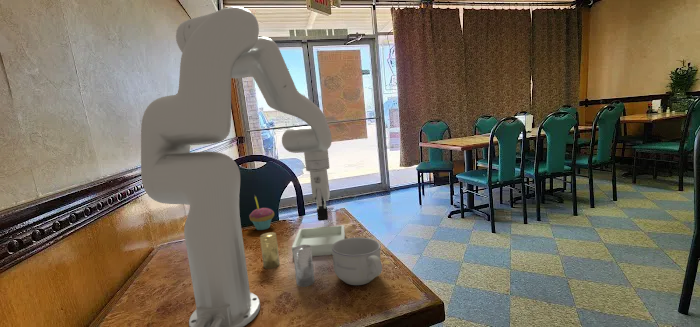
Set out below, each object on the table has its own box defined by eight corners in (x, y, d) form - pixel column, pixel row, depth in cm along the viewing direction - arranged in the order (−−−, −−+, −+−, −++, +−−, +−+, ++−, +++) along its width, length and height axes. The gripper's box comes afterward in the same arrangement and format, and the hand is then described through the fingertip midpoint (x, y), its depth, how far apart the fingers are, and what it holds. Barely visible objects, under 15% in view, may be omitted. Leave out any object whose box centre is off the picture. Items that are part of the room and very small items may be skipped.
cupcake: (245, 231, 105) (241, 198, 103) (259, 223, 113) (256, 191, 111) (267, 232, 102) (263, 198, 101) (280, 223, 110) (276, 191, 109)
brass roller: (277, 267, 76) (274, 237, 75) (261, 269, 76) (258, 239, 75) (281, 260, 80) (277, 231, 79) (265, 261, 80) (262, 233, 79)
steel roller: (313, 285, 66) (310, 251, 65) (295, 287, 66) (291, 252, 65) (315, 276, 70) (311, 243, 69) (298, 278, 70) (294, 245, 69)
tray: (345, 253, 81) (344, 242, 81) (293, 257, 81) (291, 247, 80) (344, 234, 95) (344, 225, 94) (300, 237, 95) (299, 228, 94)
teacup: (328, 273, 71) (325, 241, 70) (370, 262, 75) (368, 231, 74) (349, 305, 58) (346, 266, 57) (398, 290, 62) (396, 253, 61)
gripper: (327, 167, 89) (333, 226, 92) (330, 160, 104) (335, 211, 107) (302, 169, 89) (309, 229, 92) (308, 162, 104) (313, 213, 107)
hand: (323, 219), depth 99 cm, fingers closed
